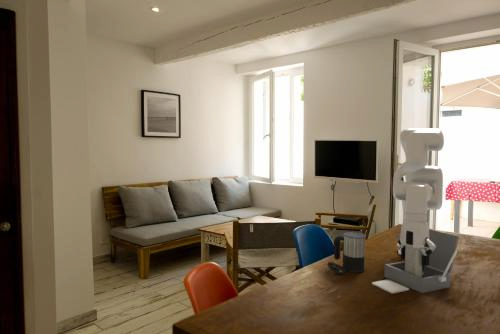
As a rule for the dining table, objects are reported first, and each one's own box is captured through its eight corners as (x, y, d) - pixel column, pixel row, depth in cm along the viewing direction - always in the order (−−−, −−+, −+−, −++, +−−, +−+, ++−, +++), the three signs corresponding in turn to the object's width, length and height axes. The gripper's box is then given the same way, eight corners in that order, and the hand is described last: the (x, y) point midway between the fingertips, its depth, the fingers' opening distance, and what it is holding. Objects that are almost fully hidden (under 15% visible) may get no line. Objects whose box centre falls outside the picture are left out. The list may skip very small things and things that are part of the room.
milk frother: (367, 267, 160) (367, 233, 159) (361, 279, 145) (362, 241, 145) (333, 263, 166) (334, 229, 165) (324, 274, 151) (325, 237, 151)
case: (384, 276, 148) (385, 230, 147) (417, 270, 156) (418, 226, 155) (425, 294, 131) (427, 241, 130) (460, 286, 138) (462, 236, 137)
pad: (371, 284, 141) (371, 282, 141) (388, 280, 144) (388, 279, 144) (392, 293, 132) (392, 291, 132) (408, 290, 135) (408, 288, 135)
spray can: (425, 286, 139) (427, 232, 138) (406, 284, 140) (407, 231, 139) (421, 279, 145) (422, 228, 144) (402, 278, 147) (404, 227, 146)
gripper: (391, 214, 148) (389, 257, 148) (428, 222, 132) (426, 270, 133) (405, 212, 151) (403, 255, 151) (443, 220, 135) (441, 267, 136)
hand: (414, 261), depth 142 cm, fingers open, 9 cm apart
